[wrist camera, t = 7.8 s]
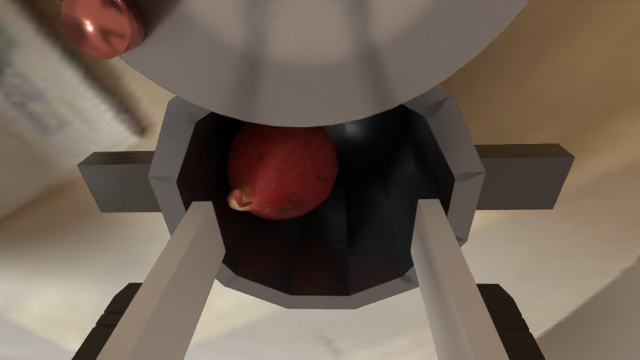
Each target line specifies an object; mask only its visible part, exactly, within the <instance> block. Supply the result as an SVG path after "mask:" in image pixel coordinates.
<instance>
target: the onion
mask: <svg viewBox="0 0 640 360" xmlns="http://www.w3.org/2000/svg"><path fill="white" fill-rule="evenodd" d="M338 171H339V167H338V161H337V154H336V149H335V146H334V144H333V142H332V140H331V138H330V136H329V134H328V132H327V131H326V130H325V129H324V128H323V127H322V126H312V127H286V126H272V125H265V124H259V123H253V122H247V123H246V124H245V125H244V126H243V127H242V129H241V130H240V132H239V133H238V135H237V136H236V138H235V139H234V141H233V143H232V145H231V146H230V151H229V157H228V178H229V183H230V188H231V191H230V193H229V195H228V198H227V201H228V203H229V206H230V207H231V208H232V209H236V210H241V211H249V212H250V213H252V214H254V215H256V216H259V217H262V218H265V219H270V220H282V219H289V218H295V217H300V216H302V215H305V214H307V213H308V212H310V211H311V210H312V209H314V208H315V207H316V206H318V205H319V204H320V203H322V202H323V201H324V200H325V199H326V198H327V197H328V196H329V194H330V192H331V190H332V188H333V185H334V183H335V180H336V177H337V174H338Z"/></svg>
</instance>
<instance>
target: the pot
mask: <svg viewBox="0 0 640 360" xmlns="http://www.w3.org/2000/svg"><path fill="white" fill-rule="evenodd" d="M246 123H247V121H243V120H239V119H236V118H232V117H229V116H225V115H222V114H218V113H215V112H213V111H211V110H208V109H206V108H203V107H201V106H198V105H196V104H194V103H191V102H189V101H187V100H185V99H183V98H181V97H179V96H177V95H176V96H175V97H174V98H172V99H171V100H170V101H169V102H168V105H167V109H166V113H165V116H164V120H163V124H162V127H161V131H160V135H159V138H158V142H157V146H156V149H155V151H124V152H94V153H92V154H91V155H90V156H88V157H87V158H86V159H84V160H83V161H82V162H80V163H79V164H78V165H77V166H78V168H79V170H80V172H81V174H82V176H83V178H84V180H85V182H86V184H87V186H88V188H89V190H90V192H91V194H92V195H93V197H94V199H95V201H96V203H97V205H98V207H99V209H100V211H101V212H162V214H163V217H164V219H165V222H166V224H167V227H168V229H169V232H170V235H171V237H172V235H173V233H174V232H175V230H176V228H177V227H178V225H179V224H180V222H181V220H182V219H183V217H184V215H185V214H186V212H187V210H188V209H189V207H190V206H191V204H192V202H205V201H212V204H213V208H214V211H215V215H216V219H217V222H218V226H219V229H220V233H221V237H222V240H223V244H224V247H225V251H226V252H225V255H224V257H223V260H222V262H221V265H220V267H219V270H218V272H217V275H216V279H217V280H218V281H219V282H220V283H221V284H222V285H224V286H225V287H228V288H231V289H234V290H237V291H239V292H242V293H245V294H248V295H251V296H253V297H256V298H259V299H262V300H265V301H267V302H270V303H273V304H276V305H279V306H282V307H284V308H287V309H357V308H360V307H363V306H365V305H368V304H371V303H374V302H377V301H380V300H383V299H386V298H389V297H391V296H394V295H397V294H400V293H403V292H406V291H409V290H412V289H414V288H417V287H419V282H418V278H417V274H416V270H415V267H414V263H413V259H412V255H411V245H412V238H413V231H414V225H415V218H416V211H417V204H418V199H439V201H440V203H441V206H442V208H443V210H444V213H445V215H446V217H447V219H448V222H449V224H450V226H451V228H452V231H453V233H454V235H455V238H456V240H457V242H458V244H459V247H461V246H462V245H463V244H465V243H466V242H467V239H468V236H469V232H470V228H471V225H472V221H473V217H474V213H475V210H533V209H553V207H554V205H555V203H556V200H557V198H558V196H559V193H560V191H561V189H562V186H563V184H564V182H565V179H566V177H567V175H568V172H569V170H570V168H571V166H572V163H573V161H574V159H575V157H574V156H573V155H572V154H570V153H569V152H568V151H567V150H565V149H564V148H563V147H562V146H560V145H559V144H504V145H474V144H473V142H472V139H471V137H470V135H469V132H468V130H467V128H466V125H465V123H464V121H463V118H462V116H461V114H460V111H459V109H458V107H457V104H456V102H455V100H454V97H453V95H452V93H451V92H450V91H449V90H448V89H447V88H446V87H445V86H444V85H443V83H442V82H440V83H439V84H437V85H436V86H434V87H432V88H431V89H429V90H428V91H426V92H424V93H423V94H421V95H419V96H417V97H415V98H413V99H411V100H409V101H407V102H405V103H402V104H400V105H398V106H396V107H394V108H392V109H389V110H386V111H383V112H380V113H377V114H375V115H372V116H369V117H366V118H363V119H358V120H354V121H349V122H344V123H339V124H334V125H324V126H322V127H323V128H324V129H325V130H326V131H327V132H328V134H329V136H330V138H331V140H332V142H333V144H334V146H335V149H336V154H337V161H338V167H339V171H338V174H337V177H336V180H335V183H334V185H333V188H332V190H331V192H330V194H329V196H328V197H327V198H326V199H325V200H324V201H323V202H322V203H320V204H319V205H318V206H316V207H315V208H314V209H312V210H311V211H310V212H308V213H307V214H305V215H302V216H300V217H295V218H289V219H282V220H270V219H265V218H262V217H259V216H256V215H254V214H252V213H250V212H249V211H241V210H236V209H232V208H231V207H230V206H229V203H228V201H227V198H228V195H229V193H230V191H231V188H230V183H229V178H228V157H229V151H230V146H231V145H232V143H233V141H234V139H235V138H236V136H237V135H238V133H239V132H240V130H241V129H242V127H243V126H244V125H245V124H246Z"/></svg>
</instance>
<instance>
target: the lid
mask: <svg viewBox="0 0 640 360" xmlns="http://www.w3.org/2000/svg"><path fill="white" fill-rule="evenodd" d="M61 1H62V2H63V3H62V6H61V20H62V24H63V27H64V29H65V31H66V33H67V35H68V36H69V38H70V39H71V41H72V42H73V43H74V44H75V45H76V46H77V47H78V48H79V49H81V50H82V51H83V52H85V53H86V54H88V55H90V56H93V57H96V58H100V59H109V58H113V57H115V56H119V57H120V58H121V59H122V60H124V61H125V62H126V63H127V64H128V65H130V66H131V67H133V68H134V69H135V70H137V71H138V72H140V73H141V74H143V75H144V76H146V77H147V78H149V79H150V80H152V81H153V82H155V83H156V84H158V85H159V86H161V87H163V88H165V89H166V90H168V91H170V92H172V93H174V94H176V95H177V96H179V97H181V98H183V99H185V100H187V101H189V102H191V103H194V104H196V105H198V106H201V107H203V108H206V109H208V110H211V111H213V112H215V113H218V114H222V115H225V116H229V117H232V118H236V119H239V120H243V121H247V122H253V123H259V124H265V125H272V126H286V127H312V126H324V125H334V124H339V123H344V122H349V121H354V120H358V119H363V118H366V117H369V116H372V115H375V114H377V113H380V112H383V111H386V110H389V109H392V108H394V107H396V106H398V105H400V104H402V103H405V102H407V101H409V100H411V99H413V98H415V97H417V96H419V95H421V94H423V93H424V92H426V91H428V90H429V89H431V88H432V87H434V86H436V85H437V84H439V83H440V82H442V81H444V80H445V79H447V78H449V77H450V76H451V75H453V74H454V73H455V72H456V71H458V70H459V69H460V68H462V67H463V66H464V65H465V64H467V63H468V62H469V61H470V60H472V59H473V58H474V57H476V56H477V55H478V54H479V53H480V52H482V51H483V50H484V49H485V48H486V47H487V46H488V45H489V44H490V43H491V42H492V41H493V40H494V39H495V38H496V37H497V36H498V35H499V34H500V33H501V32H502V31H503V30H504V29H505V28H506V27H507V26H508V25H509V24H510V23H511V22H512V21H513V20H514V19H515V17H516V16H517V15H518V14H519V13H520V12H521V10H522V9H523V8H524V7H525V6H526V5H527V3H528V2H529V1H530V0H61Z"/></svg>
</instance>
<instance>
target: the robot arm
mask: <svg viewBox="0 0 640 360" xmlns="http://www.w3.org/2000/svg"><path fill="white" fill-rule="evenodd" d="M225 252H226V251H225V247H224V244H223V240H222V237H221V233H220V229H219V226H218V222H217V219H216V215H215V211H214V208H213V204H212V201H205V202H192V204H191V206H190V207H189V209H188V210H187V212H186V214H185V215H184V217H183V219H182V220H181V222H180V224H179V225H178V227H177V228H176V230H175V232H174V233H173V235H172V237H171V238H170V240H169V241H168V243H167V245H166V246H165V248H164V250H163V251H162V253H161V254H160V256H159V258H158V259H157V261H156V263H155V264H154V266H153V267H152V269H151V271H150V272H149V274H148V276H147V277H146V279H145V281H144V282H143V283H129V284H128V285H127V286H125V287H124V288H123V289H122V290H121V291H120V292H119V293H117V294H116V295H115V296H114V298H113V299H112V301H111V302H110V304H109V305H108V306H107V308H106V309H105V311H104V314H102V315H101V317H100V318H99V320H98V321H97V323H96V326H95V327H93V329H92V330H91V332H90V333H89V335H88V336H87V338H86V339H85V340H84V342H83V343H82V345H81V346H80V348H79V349H78V351H77V352H76V354H75V355H74V357H73V358H72V360H183V359H184V357H185V354H186V352H187V349H188V347H189V344H190V341H191V339H192V336H193V334H194V331H195V329H196V326H197V324H198V321H199V318H200V316H201V313H202V311H203V308H204V306H205V303H206V301H207V298H208V295H209V293H210V290H211V288H212V285H213V283H214V280H215V278H216V275H217V272H218V270H219V267H220V265H221V262H222V260H223V257H224V255H225ZM411 255H412V259H413V263H414V267H415V270H416V274H417V278H418V282H419V286H420V290H421V293H422V297H423V301H424V305H425V309H426V313H427V316H428V320H429V324H430V328H431V332H432V336H433V340H434V343H435V347H436V351H437V355H438V359H439V360H545V358H544V356H543V354H542V352H541V350H540V348H539V346H538V344H537V343H536V341H535V339H534V337H533V335H532V333H530V332H529V328H528V326H527V324H526V322H525V320H524V318H522V314H521V312H520V311H519V309H518V307H517V305H516V303H515V301H514V299H513V298H512V297H511V296H510V295H509V294H508V293H507V292H506V291H505V290H504V289H503V288H502V287H501V286H500V285H499V284H476V283H475V281H474V278H473V276H472V274H471V272H470V269H469V267H468V265H467V263H466V260H465V258H464V256H463V253H462V251H461V249H460V247H459V244H458V242H457V240H456V238H455V235H454V233H453V231H452V228H451V226H450V224H449V222H448V219H447V217H446V215H445V213H444V210H443V208H442V206H441V203H440V201H439V199H418V204H417V211H416V218H415V225H414V231H413V238H412V245H411Z"/></svg>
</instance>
